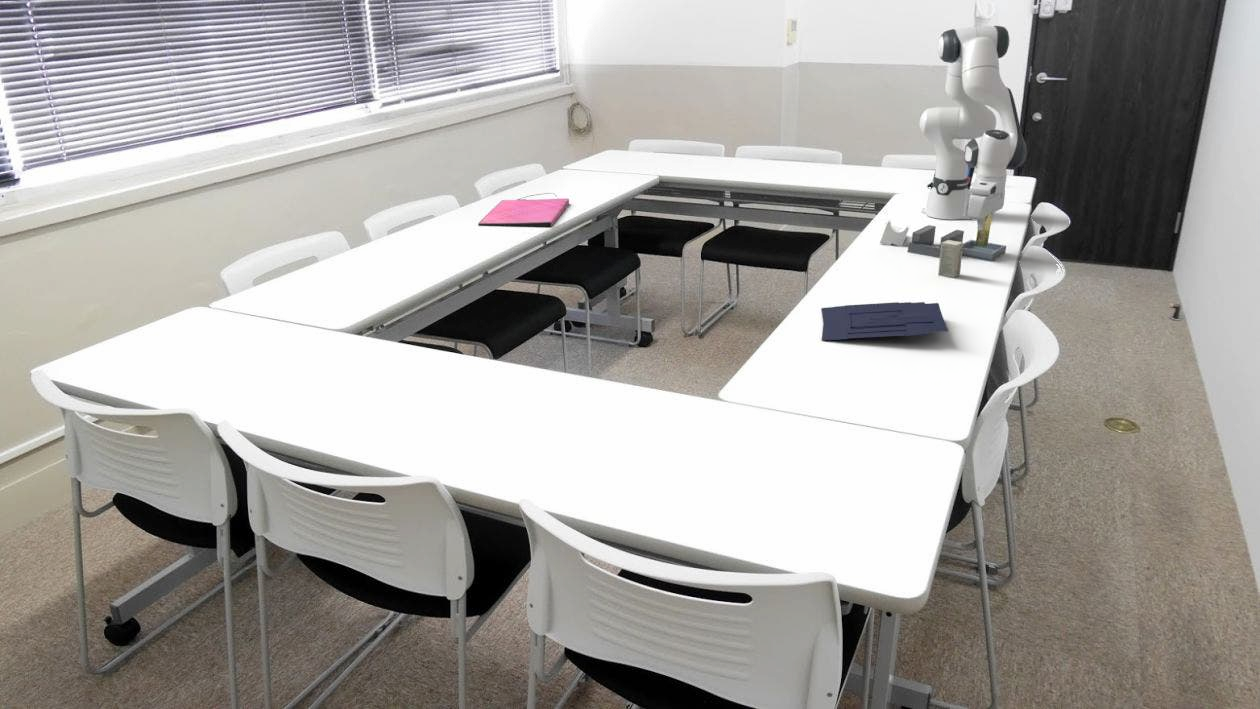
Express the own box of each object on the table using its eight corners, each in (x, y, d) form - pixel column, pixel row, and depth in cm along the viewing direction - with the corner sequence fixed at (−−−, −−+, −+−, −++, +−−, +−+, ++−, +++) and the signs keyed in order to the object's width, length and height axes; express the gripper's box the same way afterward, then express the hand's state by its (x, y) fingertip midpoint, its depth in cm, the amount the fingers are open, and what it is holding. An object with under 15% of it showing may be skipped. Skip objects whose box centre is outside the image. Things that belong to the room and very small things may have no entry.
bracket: (900, 249, 303) (909, 228, 300) (879, 242, 304) (888, 221, 301) (901, 239, 315) (910, 218, 311) (881, 232, 316) (889, 212, 312)
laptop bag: (551, 218, 328) (477, 218, 332) (551, 228, 330) (478, 228, 333) (571, 192, 365) (504, 192, 368) (571, 202, 366) (505, 202, 370)
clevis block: (926, 242, 306) (928, 225, 304) (961, 248, 299) (963, 231, 296) (907, 252, 296) (909, 234, 294) (943, 258, 289) (945, 240, 287)
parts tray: (969, 247, 301) (970, 239, 300) (1005, 253, 294) (1006, 245, 293) (955, 254, 293) (956, 247, 292) (991, 261, 286) (992, 253, 285)
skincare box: (960, 275, 273) (964, 242, 270) (953, 278, 271) (957, 245, 267) (944, 271, 277) (948, 239, 273) (937, 274, 274) (941, 242, 270)
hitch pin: (978, 242, 294) (983, 206, 290) (989, 244, 292) (994, 207, 287) (973, 245, 292) (978, 208, 287) (984, 247, 290) (990, 209, 285)
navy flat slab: (949, 344, 220) (949, 330, 219) (822, 350, 227) (821, 337, 226) (937, 310, 242) (937, 297, 241) (821, 317, 249) (821, 304, 248)
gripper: (992, 177, 294) (986, 220, 299) (967, 188, 279) (961, 232, 285) (1012, 180, 290) (1006, 223, 295) (987, 191, 276) (981, 236, 281)
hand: (983, 227), depth 290 cm, fingers closed on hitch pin, 4 cm apart
